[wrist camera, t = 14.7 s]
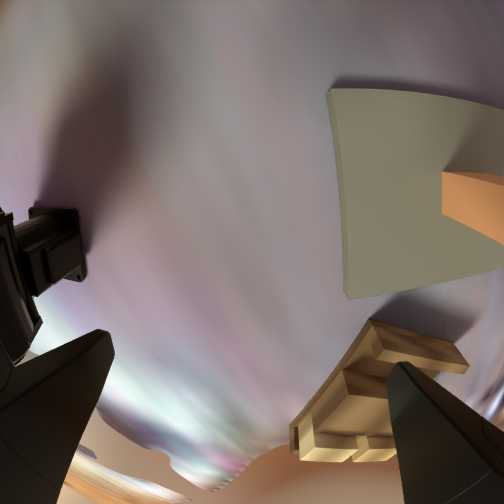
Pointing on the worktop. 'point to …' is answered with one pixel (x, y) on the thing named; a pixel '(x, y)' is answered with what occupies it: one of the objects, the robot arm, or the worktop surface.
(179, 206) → the worktop surface
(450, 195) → the orange rectangular block
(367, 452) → the oak offcut
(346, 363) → the walnut rack
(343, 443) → the ash offcut
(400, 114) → the slate tile
